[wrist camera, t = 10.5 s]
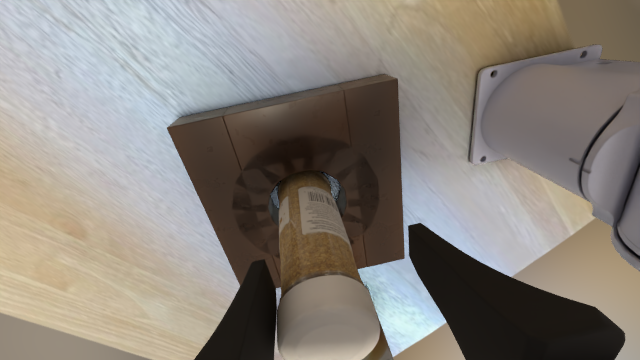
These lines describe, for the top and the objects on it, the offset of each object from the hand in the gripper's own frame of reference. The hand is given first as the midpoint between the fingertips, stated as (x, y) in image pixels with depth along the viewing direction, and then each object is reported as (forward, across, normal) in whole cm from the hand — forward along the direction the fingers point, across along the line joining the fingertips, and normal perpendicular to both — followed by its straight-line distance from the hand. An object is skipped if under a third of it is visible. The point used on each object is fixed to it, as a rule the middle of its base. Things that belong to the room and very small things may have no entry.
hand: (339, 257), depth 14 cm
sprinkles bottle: (+10, +1, +2) cm, 11 cm away
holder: (+10, +1, +2) cm, 11 cm away
